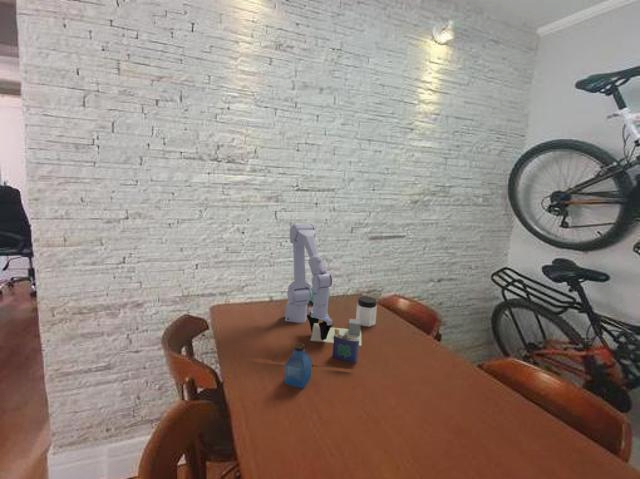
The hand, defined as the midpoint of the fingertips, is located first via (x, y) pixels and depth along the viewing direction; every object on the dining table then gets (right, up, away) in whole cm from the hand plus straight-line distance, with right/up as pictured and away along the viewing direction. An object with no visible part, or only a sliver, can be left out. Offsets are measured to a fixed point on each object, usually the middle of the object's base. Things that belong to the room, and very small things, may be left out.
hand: (318, 335), depth 132 cm
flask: (+9, -5, -15) cm, 18 cm away
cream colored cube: (0, -1, 0) cm, 1 cm away
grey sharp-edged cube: (+15, -1, +7) cm, 16 cm away
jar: (+21, 0, +18) cm, 28 cm away
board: (+7, -2, +4) cm, 8 cm away
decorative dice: (0, +5, +44) cm, 44 cm away
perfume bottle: (-6, -6, -28) cm, 29 cm away
